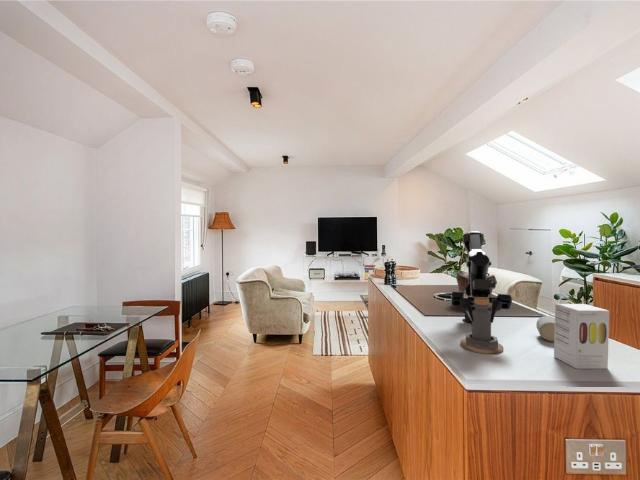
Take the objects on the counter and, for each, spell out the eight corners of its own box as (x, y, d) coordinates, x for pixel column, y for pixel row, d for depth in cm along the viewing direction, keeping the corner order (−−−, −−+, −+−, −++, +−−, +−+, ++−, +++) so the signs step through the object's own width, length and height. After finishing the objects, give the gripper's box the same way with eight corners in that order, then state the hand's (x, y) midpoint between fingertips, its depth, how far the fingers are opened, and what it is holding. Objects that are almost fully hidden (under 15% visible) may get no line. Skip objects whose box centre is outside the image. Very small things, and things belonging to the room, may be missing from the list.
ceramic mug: (539, 341, 117) (539, 319, 117) (535, 334, 124) (536, 314, 124) (576, 346, 112) (577, 323, 112) (570, 339, 120) (571, 318, 119)
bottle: (470, 339, 115) (470, 296, 115) (488, 340, 114) (488, 297, 113) (473, 345, 110) (473, 300, 109) (492, 346, 108) (493, 301, 108)
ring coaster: (479, 338, 120) (480, 329, 120) (512, 350, 108) (512, 340, 108) (452, 343, 115) (452, 334, 115) (483, 356, 103) (483, 346, 103)
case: (504, 309, 164) (504, 273, 164) (464, 309, 164) (463, 273, 164) (486, 301, 182) (486, 269, 181) (450, 302, 182) (450, 269, 182)
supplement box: (575, 369, 93) (576, 310, 93) (552, 356, 103) (553, 303, 102) (609, 369, 93) (610, 310, 93) (583, 356, 103) (584, 302, 102)
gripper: (451, 268, 118) (452, 306, 108) (511, 270, 111) (517, 311, 101) (451, 286, 125) (451, 323, 116) (506, 289, 119) (512, 328, 109)
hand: (482, 321), depth 110 cm, fingers closed on bottle, 6 cm apart
